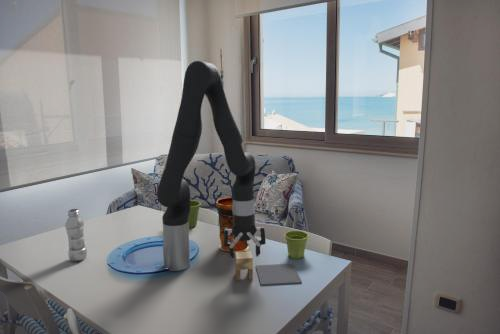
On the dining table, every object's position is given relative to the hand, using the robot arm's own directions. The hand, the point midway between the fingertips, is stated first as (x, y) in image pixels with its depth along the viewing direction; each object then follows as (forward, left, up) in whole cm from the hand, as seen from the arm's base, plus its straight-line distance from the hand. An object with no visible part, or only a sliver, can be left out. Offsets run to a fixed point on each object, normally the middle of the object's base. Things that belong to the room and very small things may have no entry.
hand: (244, 256), depth 130 cm
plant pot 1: (-22, +55, -8) cm, 60 cm away
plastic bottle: (-63, +21, -8) cm, 67 cm away
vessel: (-2, +27, -8) cm, 28 cm away
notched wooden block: (0, 0, -8) cm, 8 cm away
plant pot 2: (+22, +15, -8) cm, 28 cm away
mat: (+12, 0, -8) cm, 14 cm away
